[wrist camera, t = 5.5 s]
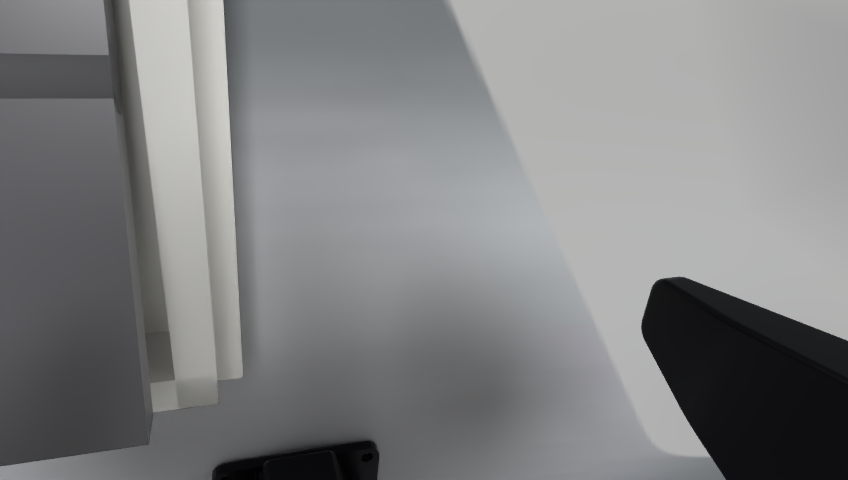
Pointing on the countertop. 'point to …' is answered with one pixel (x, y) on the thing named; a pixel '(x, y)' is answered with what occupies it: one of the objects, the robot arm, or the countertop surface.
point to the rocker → (67, 239)
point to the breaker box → (181, 194)
